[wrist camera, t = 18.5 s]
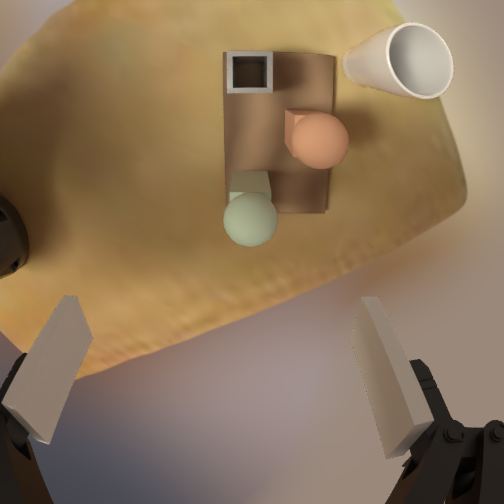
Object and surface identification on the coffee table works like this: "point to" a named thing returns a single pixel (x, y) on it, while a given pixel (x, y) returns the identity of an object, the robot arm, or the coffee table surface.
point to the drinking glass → (402, 62)
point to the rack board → (277, 127)
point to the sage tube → (250, 183)
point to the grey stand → (250, 58)
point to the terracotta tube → (293, 124)
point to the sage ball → (250, 219)
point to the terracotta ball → (320, 140)
